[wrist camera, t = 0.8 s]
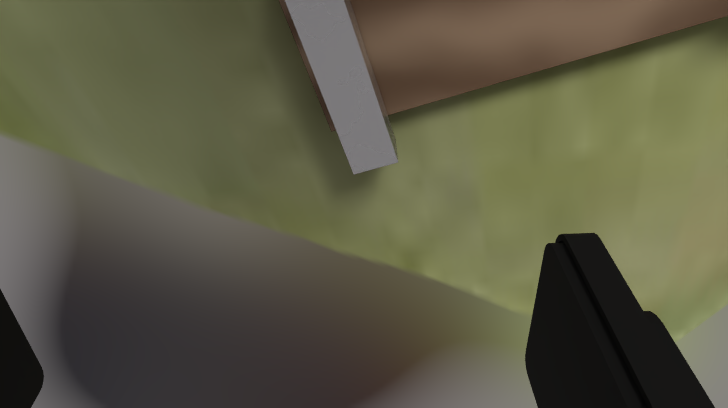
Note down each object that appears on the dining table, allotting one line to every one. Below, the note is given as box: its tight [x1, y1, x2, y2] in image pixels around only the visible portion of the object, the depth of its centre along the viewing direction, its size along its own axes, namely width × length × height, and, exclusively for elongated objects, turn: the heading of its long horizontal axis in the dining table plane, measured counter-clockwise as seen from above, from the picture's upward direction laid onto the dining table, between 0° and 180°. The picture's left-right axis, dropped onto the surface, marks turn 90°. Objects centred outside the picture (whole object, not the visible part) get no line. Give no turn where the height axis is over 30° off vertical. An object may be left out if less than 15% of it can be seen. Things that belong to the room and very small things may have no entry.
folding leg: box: [285, 0, 398, 174], centre depth 33 cm, size 15×3×3 cm, turn 18°
